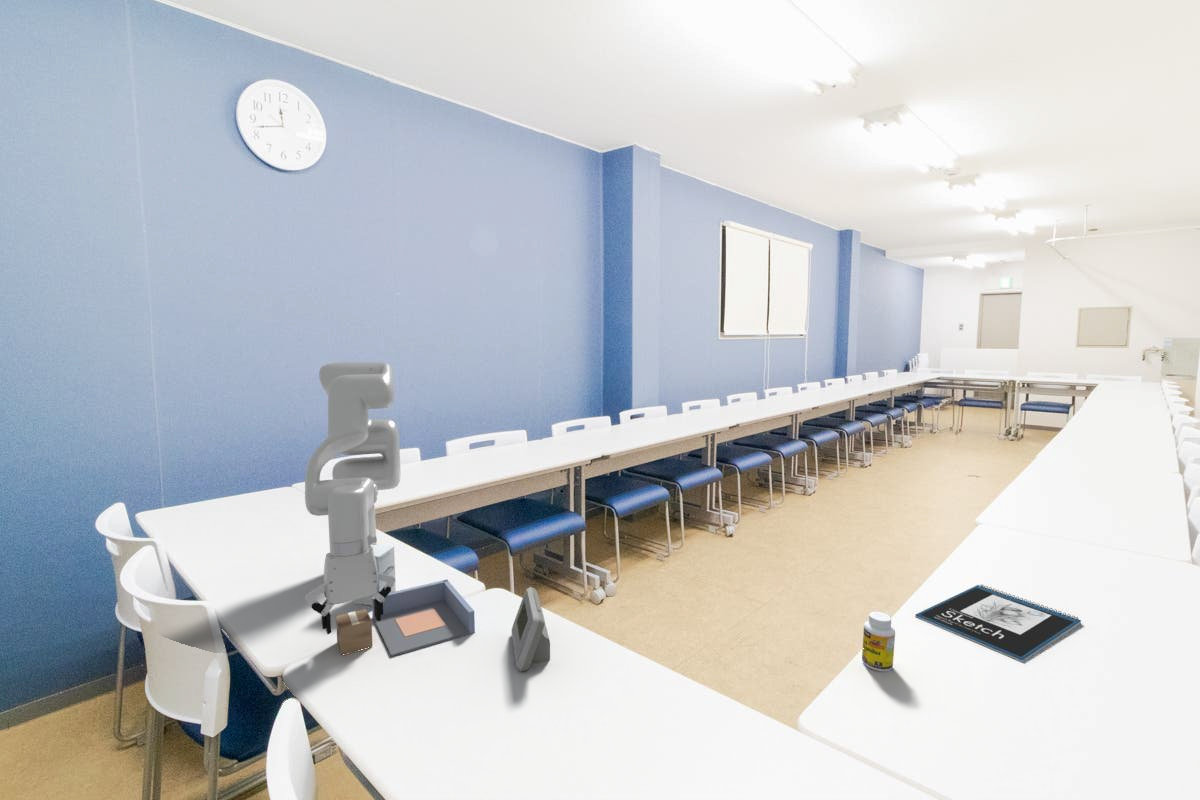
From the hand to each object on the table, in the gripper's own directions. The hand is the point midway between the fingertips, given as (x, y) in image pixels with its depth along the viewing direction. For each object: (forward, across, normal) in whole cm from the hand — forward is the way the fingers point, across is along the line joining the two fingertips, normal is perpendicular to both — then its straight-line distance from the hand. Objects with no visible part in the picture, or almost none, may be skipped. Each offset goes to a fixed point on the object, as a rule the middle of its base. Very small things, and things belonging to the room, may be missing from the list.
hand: (353, 624), depth 117 cm
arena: (+5, -14, -1) cm, 15 cm away
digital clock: (+5, -30, +21) cm, 37 cm away
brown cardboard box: (+5, 0, -1) cm, 5 cm away
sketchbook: (+6, -128, +69) cm, 145 cm away
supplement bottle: (+6, -87, +64) cm, 108 cm away
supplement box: (+4, -8, -21) cm, 23 cm away
